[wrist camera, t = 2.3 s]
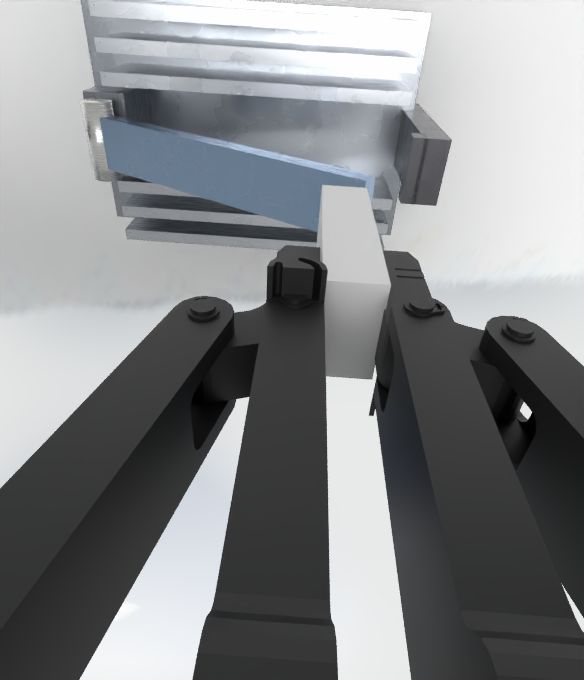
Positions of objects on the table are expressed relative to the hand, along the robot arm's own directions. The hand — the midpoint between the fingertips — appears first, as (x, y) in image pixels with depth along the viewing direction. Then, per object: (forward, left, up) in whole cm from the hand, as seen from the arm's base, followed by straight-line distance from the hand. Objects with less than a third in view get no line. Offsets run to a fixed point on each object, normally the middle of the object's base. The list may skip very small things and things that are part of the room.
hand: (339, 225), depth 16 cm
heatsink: (-5, 0, -16) cm, 16 cm away
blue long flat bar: (-5, 0, -6) cm, 8 cm away
